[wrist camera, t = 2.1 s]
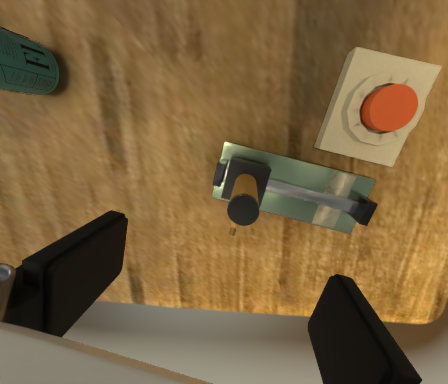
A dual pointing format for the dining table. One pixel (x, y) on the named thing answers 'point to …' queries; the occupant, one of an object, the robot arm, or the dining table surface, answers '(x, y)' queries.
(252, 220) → the nozzle
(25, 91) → the beverage bottle
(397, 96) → the button
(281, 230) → the dining table surface
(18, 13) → the dining table surface
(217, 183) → the rail
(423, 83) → the button box
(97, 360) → the robot arm
